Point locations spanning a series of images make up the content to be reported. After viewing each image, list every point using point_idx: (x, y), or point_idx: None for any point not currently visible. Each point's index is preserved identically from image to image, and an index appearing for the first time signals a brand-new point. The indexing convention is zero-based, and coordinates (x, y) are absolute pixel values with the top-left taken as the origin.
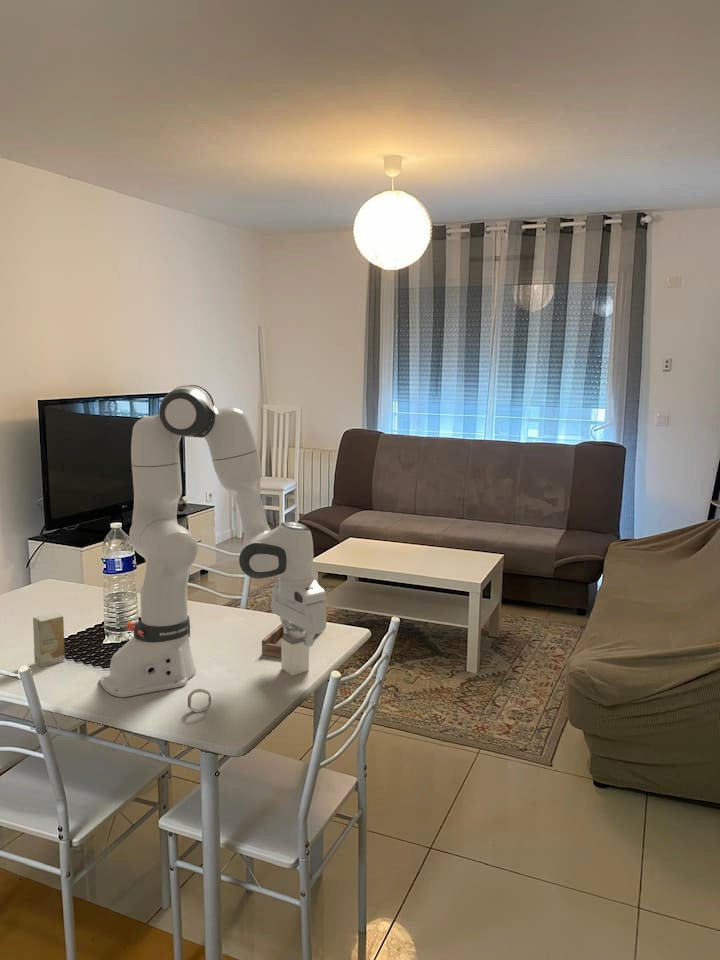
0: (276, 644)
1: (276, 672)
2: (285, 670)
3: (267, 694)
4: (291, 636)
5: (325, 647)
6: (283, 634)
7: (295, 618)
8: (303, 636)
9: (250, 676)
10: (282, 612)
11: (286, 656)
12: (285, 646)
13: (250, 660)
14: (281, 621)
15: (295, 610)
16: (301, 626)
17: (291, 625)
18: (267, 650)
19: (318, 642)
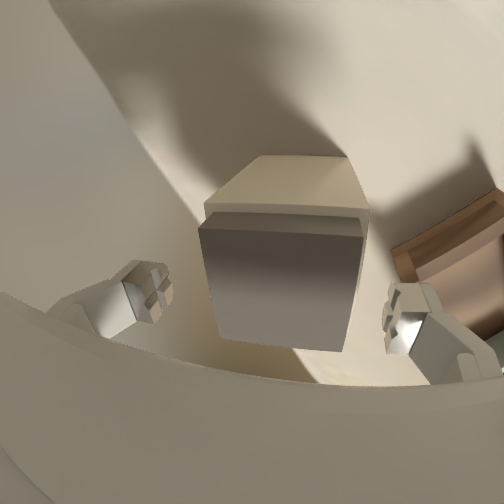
0: (479, 248)
1: (327, 118)
2: (314, 156)
3: (165, 16)
4: (269, 263)
5: (376, 361)
6: (357, 238)
7: (84, 407)
8: (220, 319)
9: (352, 15)
10: (455, 457)
11: (299, 172)
12: (307, 190)
13: (487, 118)
14: (478, 343)
15: (42, 491)
16: (44, 327)
17: (499, 361)
18: (490, 206)
19: (414, 364)
